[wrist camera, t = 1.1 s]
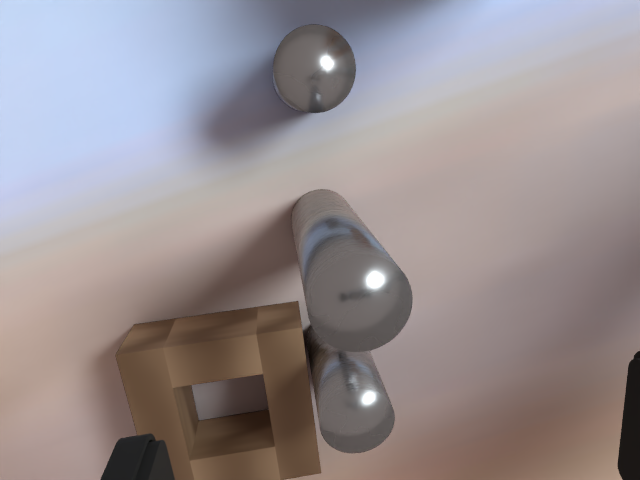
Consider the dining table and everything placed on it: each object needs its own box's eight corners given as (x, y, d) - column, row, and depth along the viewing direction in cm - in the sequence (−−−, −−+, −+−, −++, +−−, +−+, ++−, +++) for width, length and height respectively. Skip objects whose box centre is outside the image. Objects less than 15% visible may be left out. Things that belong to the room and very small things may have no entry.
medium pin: (359, 309, 29) (392, 383, 21) (363, 358, 30) (396, 446, 22) (303, 317, 28) (316, 395, 21) (309, 367, 29) (324, 458, 22)
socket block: (298, 300, 28) (301, 327, 25) (315, 433, 31) (321, 473, 28) (134, 324, 27) (115, 354, 24) (168, 457, 30) (155, 501, 27)
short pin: (335, 37, 24) (352, 20, 19) (341, 107, 25) (358, 108, 20) (268, 44, 24) (267, 28, 19) (277, 114, 25) (279, 117, 20)
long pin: (348, 185, 26) (409, 247, 15) (353, 244, 27) (414, 344, 16) (287, 193, 26) (301, 262, 15) (295, 252, 27) (313, 359, 16)
